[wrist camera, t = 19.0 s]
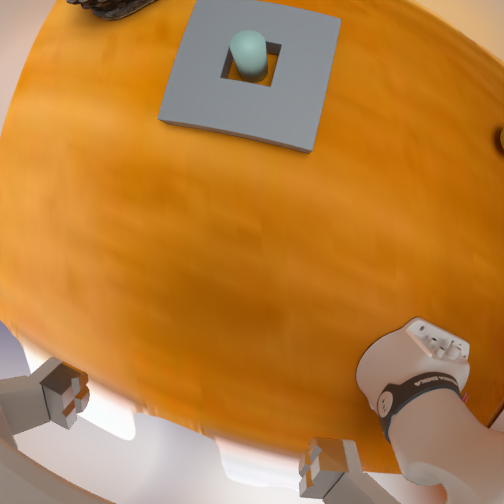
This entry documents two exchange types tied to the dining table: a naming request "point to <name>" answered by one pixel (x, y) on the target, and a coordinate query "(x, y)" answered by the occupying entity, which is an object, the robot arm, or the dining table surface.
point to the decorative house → (111, 7)
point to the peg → (250, 55)
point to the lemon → (502, 138)
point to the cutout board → (248, 94)
